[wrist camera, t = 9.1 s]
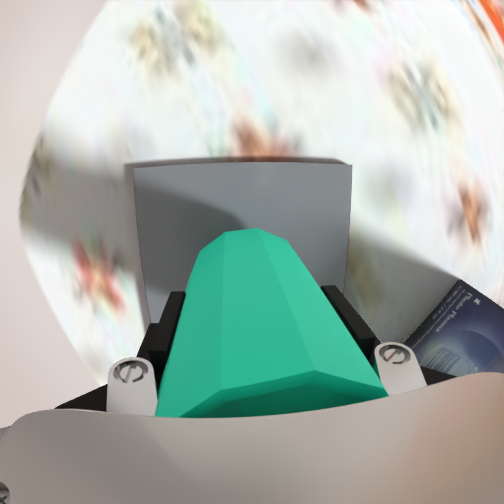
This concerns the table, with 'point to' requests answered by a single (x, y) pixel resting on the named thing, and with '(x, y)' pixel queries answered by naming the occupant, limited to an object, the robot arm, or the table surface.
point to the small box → (461, 334)
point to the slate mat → (239, 216)
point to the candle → (259, 338)
